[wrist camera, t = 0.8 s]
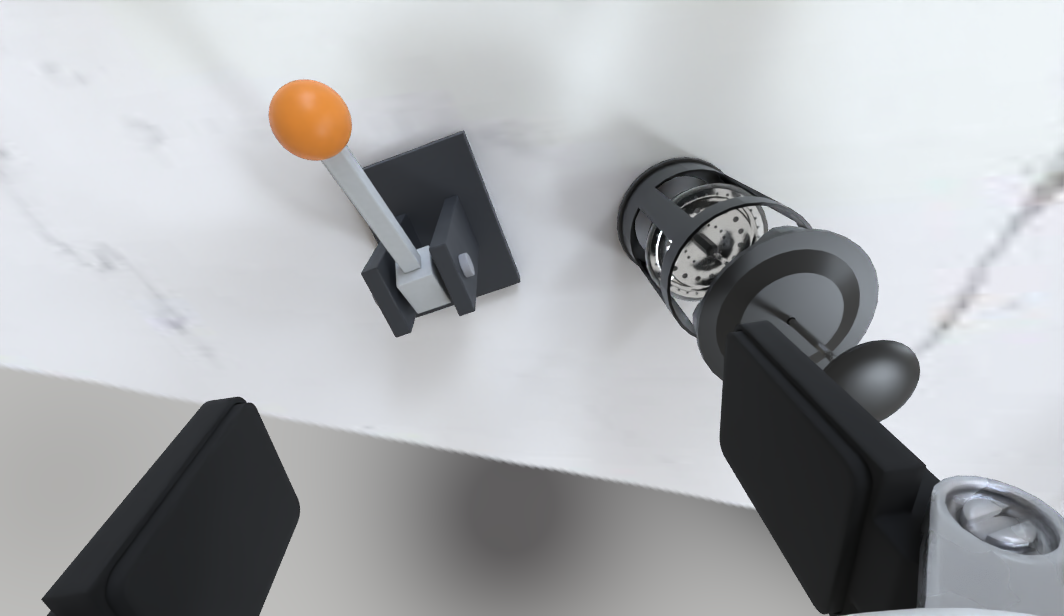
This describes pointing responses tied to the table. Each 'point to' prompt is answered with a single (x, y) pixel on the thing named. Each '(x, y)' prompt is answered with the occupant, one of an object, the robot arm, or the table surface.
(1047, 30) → the table surface
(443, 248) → the switch bracket
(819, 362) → the french press
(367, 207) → the switch lever
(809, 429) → the robot arm
